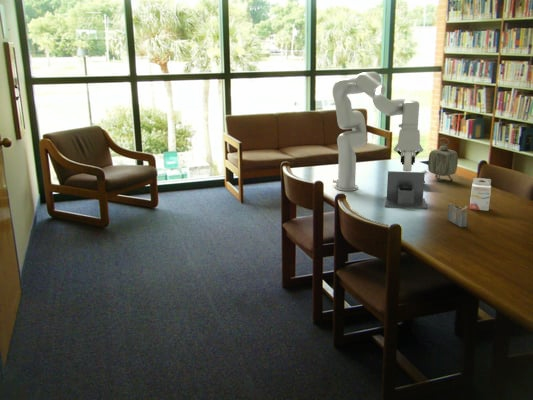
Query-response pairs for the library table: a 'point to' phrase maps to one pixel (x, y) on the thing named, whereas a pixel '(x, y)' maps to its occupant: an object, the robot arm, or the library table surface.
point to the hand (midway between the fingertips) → (407, 163)
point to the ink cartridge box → (480, 194)
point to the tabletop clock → (443, 161)
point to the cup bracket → (405, 190)
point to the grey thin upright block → (457, 215)
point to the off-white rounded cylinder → (407, 161)
